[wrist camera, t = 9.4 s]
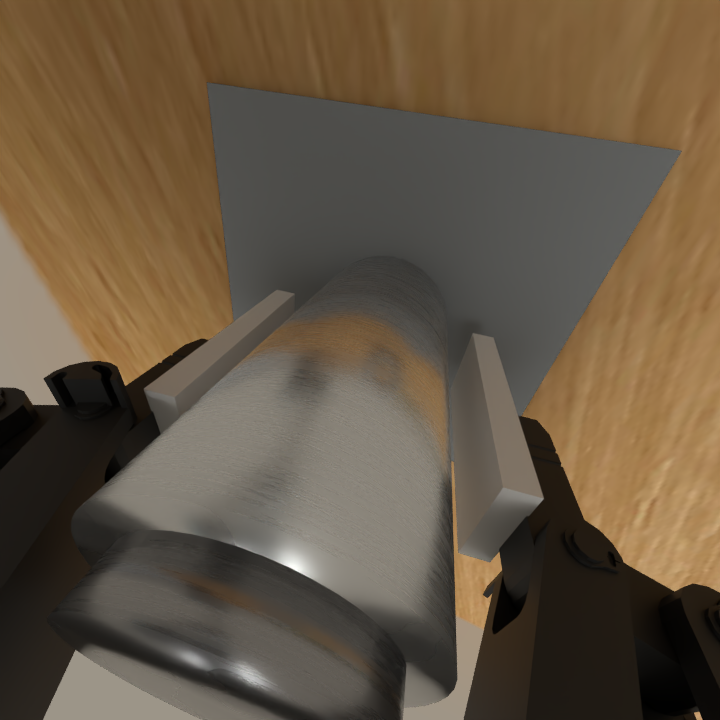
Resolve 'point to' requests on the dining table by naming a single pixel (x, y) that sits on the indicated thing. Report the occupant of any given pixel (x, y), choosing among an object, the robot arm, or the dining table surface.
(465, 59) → the dining table surface
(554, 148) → the mat
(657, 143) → the dining table surface
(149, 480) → the shaker
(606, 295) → the dining table surface
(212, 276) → the dining table surface
